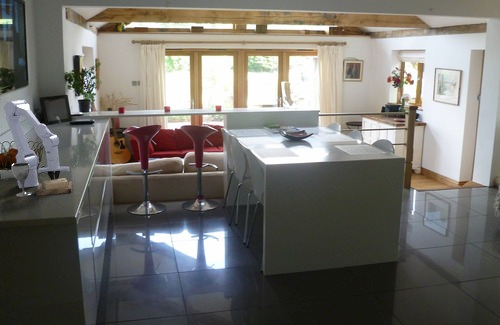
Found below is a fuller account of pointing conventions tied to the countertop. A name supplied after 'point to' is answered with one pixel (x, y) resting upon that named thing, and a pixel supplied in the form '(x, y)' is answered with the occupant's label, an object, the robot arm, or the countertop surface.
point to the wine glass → (21, 175)
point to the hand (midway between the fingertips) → (55, 185)
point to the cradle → (53, 190)
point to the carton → (56, 184)
